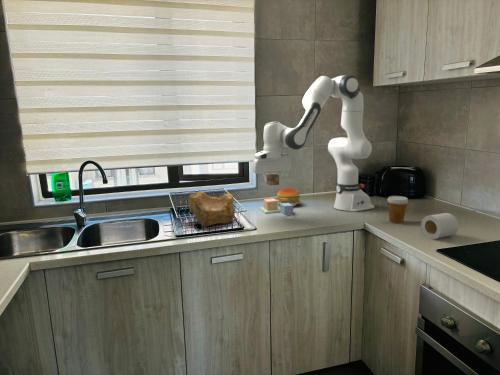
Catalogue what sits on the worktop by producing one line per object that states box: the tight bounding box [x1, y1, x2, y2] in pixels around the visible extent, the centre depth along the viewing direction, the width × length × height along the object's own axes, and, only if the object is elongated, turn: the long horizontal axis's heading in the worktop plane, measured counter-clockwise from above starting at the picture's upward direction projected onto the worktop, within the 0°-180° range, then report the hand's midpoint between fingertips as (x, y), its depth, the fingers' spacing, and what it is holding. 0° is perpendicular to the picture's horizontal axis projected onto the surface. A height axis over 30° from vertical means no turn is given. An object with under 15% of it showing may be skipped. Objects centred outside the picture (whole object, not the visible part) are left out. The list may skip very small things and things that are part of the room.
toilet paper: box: [420, 212, 459, 240], centre depth 158 cm, size 10×10×10 cm
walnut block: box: [265, 172, 280, 186], centre depth 189 cm, size 5×6×5 cm
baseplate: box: [258, 206, 280, 215], centre depth 203 cm, size 10×10×1 cm
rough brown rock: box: [187, 191, 235, 228], centre depth 180 cm, size 23×17×15 cm
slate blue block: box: [279, 203, 294, 216], centre depth 197 cm, size 5×6×5 cm
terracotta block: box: [263, 197, 279, 211], centre depth 202 cm, size 6×6×5 cm
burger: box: [276, 187, 301, 207], centre depth 213 cm, size 13×14×10 cm
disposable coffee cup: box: [386, 195, 409, 224], centre depth 179 cm, size 10×10×12 cm
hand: (272, 180), depth 189 cm, fingers closed on walnut block, 5 cm apart
